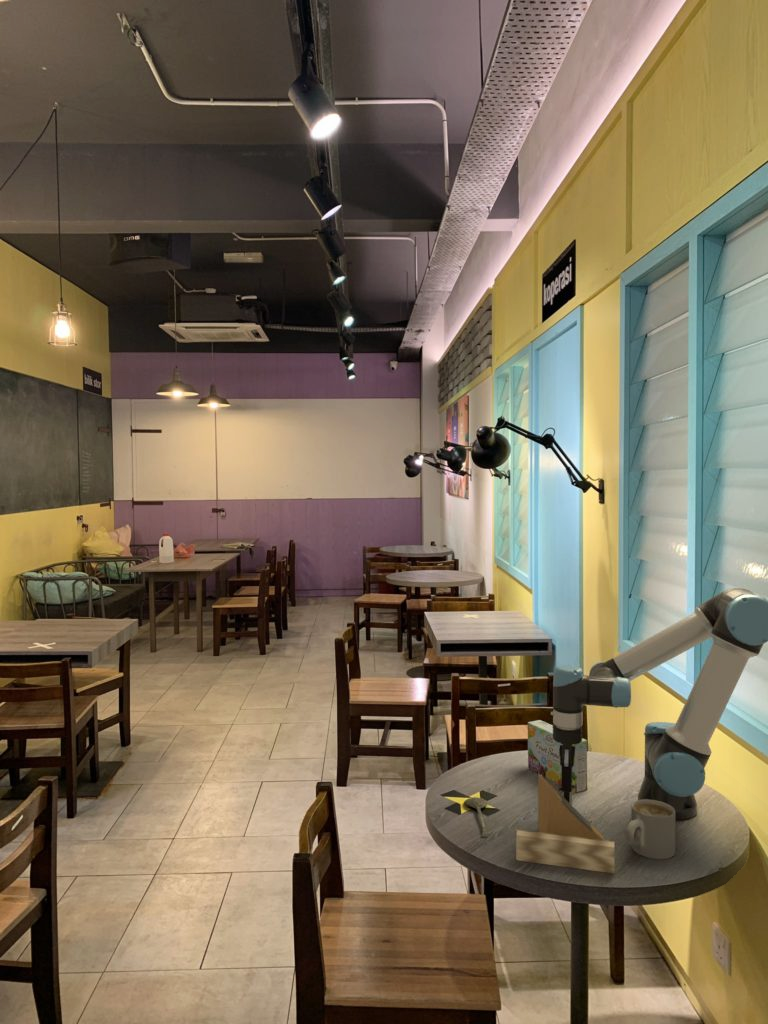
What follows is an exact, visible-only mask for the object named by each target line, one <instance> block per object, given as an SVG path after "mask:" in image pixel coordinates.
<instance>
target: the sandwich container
mask: <svg viewBox="0 0 768 1024" xmlns="http://www.w3.org/2000/svg"><path fill="white" fill-rule="evenodd" d="M537 794H538V795H537V818H538V819H537V825H538V826H537V832H544V833H552V834H560V835H568V836H576V837H584V838H592V839H600V840H606V839H605V838H604V836H603V835H602V834H601V833H600V832H599V830H597V828H596V826H594V825H593V824H592V823H591V822H590V821H589V820H588V819H587V818H585V817H584V816H583V815H582V814H581V813H580V812H579V810H578V809H576V808H575V807H574V806H573V804H572V805H571V804H570V803H569V802H568V801H567V800H566V799H565V798H564V797H563V796H562V795H561V793H560V792H559V790H557V789H556V788H555V787H554V786H553V785H552V784H550V783H549V781H548V780H546V778H545V777H543V776H541V775H540V774H537Z"/></svg>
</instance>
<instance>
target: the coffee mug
mask: <svg viewBox="0 0 768 1024" xmlns="http://www.w3.org/2000/svg"><path fill="white" fill-rule="evenodd" d="M625 834H626V839H627V843H629V845H631V848H632V850H633V851H634V852H635V853H636V854H638V855H641V856H643V857H646V858H650V859H653V860H654V859H655V860H667V858H668V859H670V857H671V858H672V856H673V857H674V856H675V855H674V854H676V820H675V809H674V808H673V807H672V806H670V805H669V804H666V803H664V802H661V801H656V800H647V799H645V800H638V799H637V800H635V801H634V802H632V803H631V821H630V822H629V823H628V825H627V826H626V833H625Z"/></svg>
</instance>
